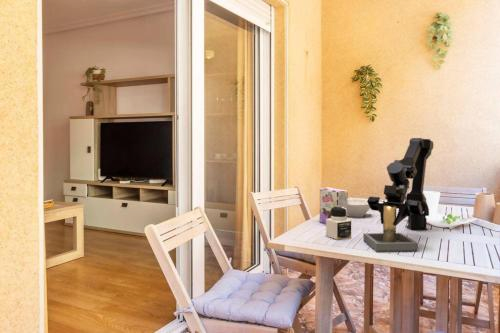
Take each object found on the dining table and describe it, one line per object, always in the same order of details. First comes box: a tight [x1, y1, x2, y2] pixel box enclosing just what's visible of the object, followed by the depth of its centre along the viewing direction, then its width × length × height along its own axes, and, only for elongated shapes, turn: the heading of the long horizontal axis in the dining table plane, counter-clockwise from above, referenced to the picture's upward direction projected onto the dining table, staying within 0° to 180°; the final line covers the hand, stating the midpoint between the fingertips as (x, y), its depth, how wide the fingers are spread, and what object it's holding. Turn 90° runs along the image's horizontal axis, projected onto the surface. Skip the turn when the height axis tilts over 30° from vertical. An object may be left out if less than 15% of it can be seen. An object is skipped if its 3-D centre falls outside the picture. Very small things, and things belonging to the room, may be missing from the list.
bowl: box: [347, 198, 371, 218], centre depth 197 cm, size 16×16×7 cm
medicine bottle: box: [325, 207, 352, 241], centre depth 155 cm, size 7×7×12 cm
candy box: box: [319, 186, 349, 225], centre depth 177 cm, size 14×6×16 cm, turn 24°
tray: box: [363, 232, 419, 253], centre depth 142 cm, size 14×14×3 cm
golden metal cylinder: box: [382, 205, 397, 243], centre depth 141 cm, size 4×4×13 cm
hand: (388, 224), depth 140 cm, fingers closed on golden metal cylinder, 4 cm apart
